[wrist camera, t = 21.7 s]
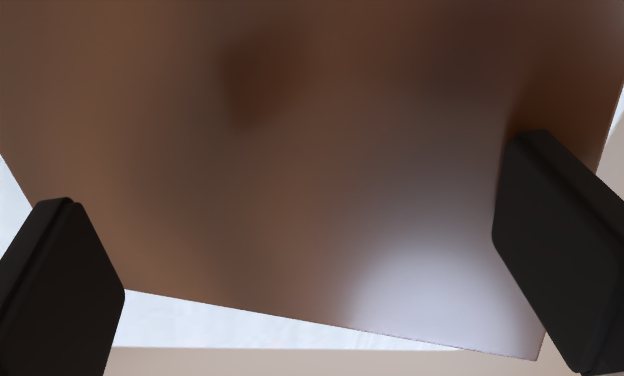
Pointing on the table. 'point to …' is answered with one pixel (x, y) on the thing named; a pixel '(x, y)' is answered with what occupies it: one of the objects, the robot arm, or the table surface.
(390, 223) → the chest lid
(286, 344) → the table surface
